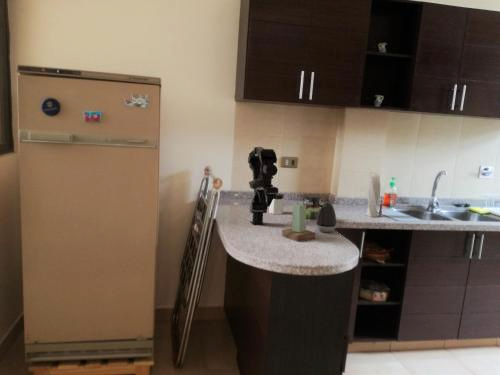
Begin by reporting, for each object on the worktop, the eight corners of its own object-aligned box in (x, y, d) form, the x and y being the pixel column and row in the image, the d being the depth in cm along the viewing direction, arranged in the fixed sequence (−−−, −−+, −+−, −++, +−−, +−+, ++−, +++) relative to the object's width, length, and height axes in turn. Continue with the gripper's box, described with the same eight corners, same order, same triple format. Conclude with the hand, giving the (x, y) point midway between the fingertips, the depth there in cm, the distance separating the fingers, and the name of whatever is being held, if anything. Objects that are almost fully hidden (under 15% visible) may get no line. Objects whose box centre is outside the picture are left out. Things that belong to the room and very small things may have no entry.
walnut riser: (281, 237, 186) (282, 230, 186) (298, 234, 193) (298, 227, 192) (297, 242, 177) (298, 235, 177) (314, 239, 184) (315, 232, 184)
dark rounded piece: (314, 228, 205) (315, 200, 202) (333, 229, 204) (335, 201, 202) (316, 233, 194) (318, 203, 192) (337, 234, 194) (339, 204, 192)
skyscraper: (371, 218, 239) (374, 173, 235) (362, 215, 246) (366, 171, 242) (382, 217, 242) (385, 173, 238) (373, 215, 249) (377, 171, 245)
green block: (292, 230, 185) (292, 204, 184) (298, 229, 188) (298, 204, 187) (299, 232, 181) (299, 205, 180) (305, 231, 184) (306, 205, 183)
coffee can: (313, 222, 219) (314, 197, 217) (298, 219, 226) (299, 195, 224) (323, 219, 227) (324, 196, 225) (308, 216, 234) (309, 193, 232)
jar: (281, 211, 246) (282, 193, 244) (284, 214, 238) (285, 195, 236) (267, 211, 245) (268, 192, 244) (269, 214, 237) (270, 194, 235)
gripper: (244, 172, 199) (243, 201, 201) (257, 176, 182) (256, 208, 184) (264, 172, 203) (263, 201, 205) (279, 176, 186) (277, 208, 188)
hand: (264, 204), depth 195 cm, fingers open, 9 cm apart
